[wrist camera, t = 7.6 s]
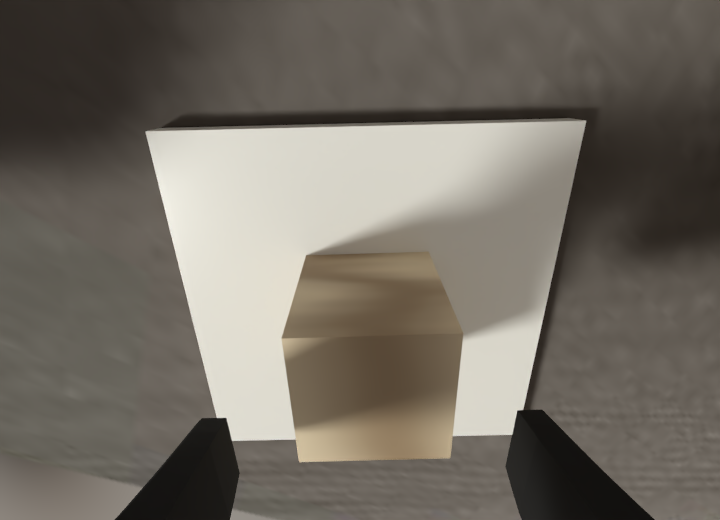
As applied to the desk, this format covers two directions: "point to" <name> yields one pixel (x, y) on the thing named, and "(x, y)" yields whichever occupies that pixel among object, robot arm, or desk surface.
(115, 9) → the desk surface
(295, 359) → the oak block
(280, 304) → the board
